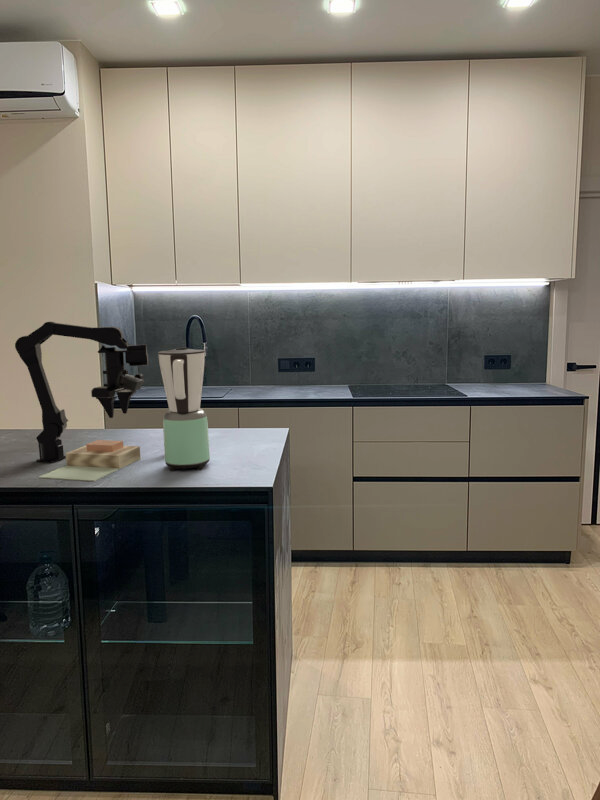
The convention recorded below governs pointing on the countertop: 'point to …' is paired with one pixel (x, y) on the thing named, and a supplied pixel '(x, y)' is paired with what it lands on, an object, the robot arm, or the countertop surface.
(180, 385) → the mint green blender
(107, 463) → the tan wooden flat block
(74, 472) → the mat
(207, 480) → the countertop surface
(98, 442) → the tile
